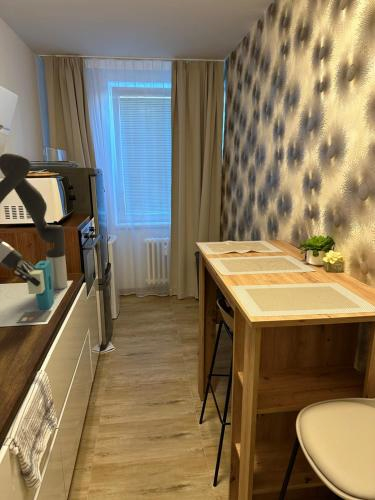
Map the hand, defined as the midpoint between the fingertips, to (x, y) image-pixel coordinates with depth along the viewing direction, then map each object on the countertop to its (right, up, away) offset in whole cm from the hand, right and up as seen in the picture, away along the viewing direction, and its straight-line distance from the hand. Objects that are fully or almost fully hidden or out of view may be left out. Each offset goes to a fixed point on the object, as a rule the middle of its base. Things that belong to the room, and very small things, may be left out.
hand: (40, 282), depth 144 cm
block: (-5, -13, +17) cm, 22 cm away
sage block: (-2, -4, +1) cm, 4 cm away
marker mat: (-5, -15, +6) cm, 17 cm away
